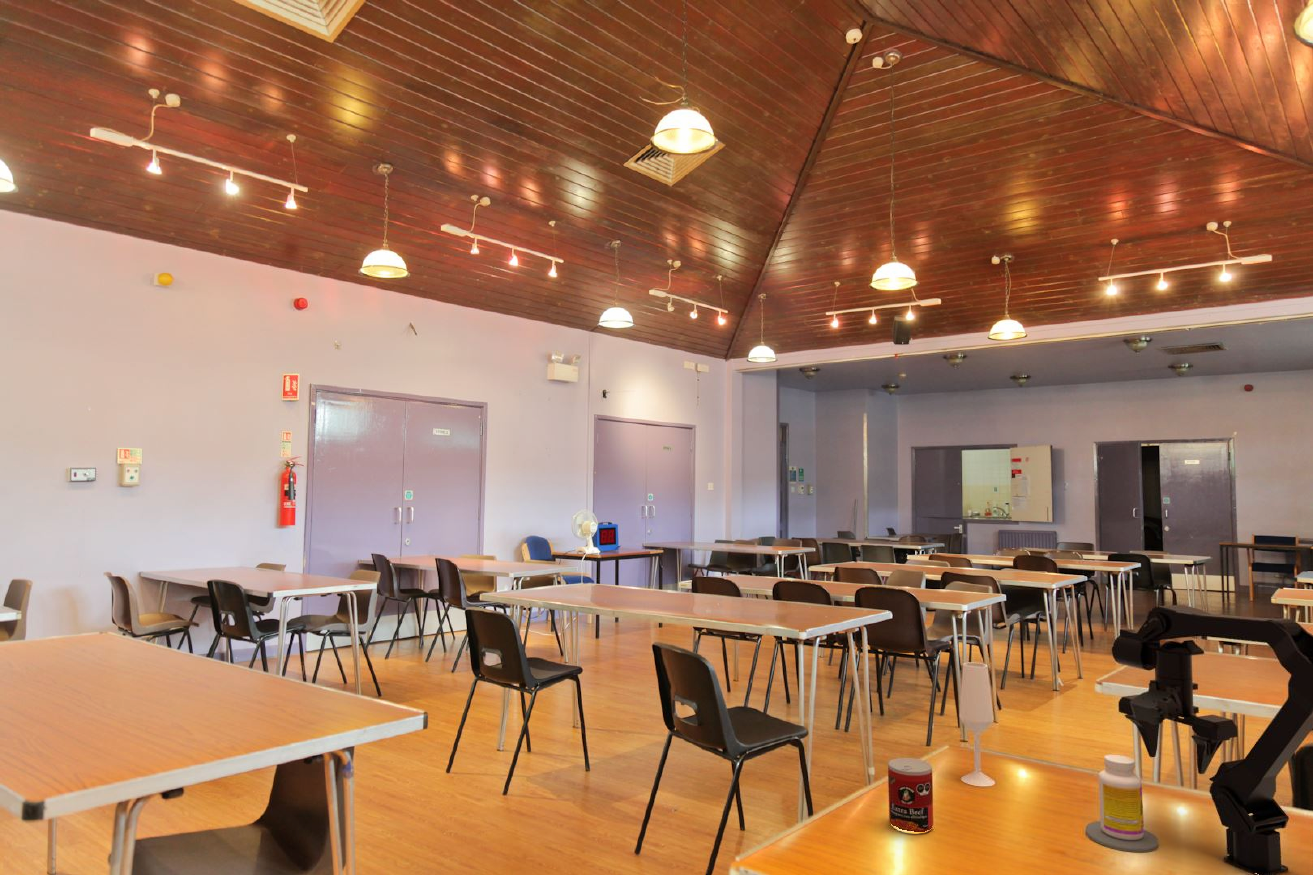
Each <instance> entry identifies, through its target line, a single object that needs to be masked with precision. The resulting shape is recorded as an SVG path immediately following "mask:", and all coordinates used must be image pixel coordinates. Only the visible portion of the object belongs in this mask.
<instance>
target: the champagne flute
mask: <svg viewBox="0 0 1313 875" xmlns="http://www.w3.org/2000/svg"><path fill="white" fill-rule="evenodd" d="M961 677H962V680H961V690H960V691H961V692H960V707H959V719H960V721H961V722H962V724H963V725H964V726H965V727H966V728H967V729H968V731H970V732H971V733H973V745H974V746H973V747H974V749H973V750H974V751H973V753H974V754H973V758H974V771H972V772H970V773H968V774H965V775H963V776H962V777H961V778H960V780H961V781H962V782H964V783H965V784H968V785H970V786H976V787H991V786H994V785H996V782H995V780H994V779H993V778H991V777H989V776H988V775H986V774H985V773H984V772H982V771H981V770H982V769H981V767H982V765H981V764H982V763H981V734H983V733H984V732H986V731H987V730H988V729H989V728H990V727H991V725H993V722H994V719H995V718H994V711H993V703H992V695H991V694H992V693H991V687H990V678H989V669H988V664H987V663H982V662H971V661H970V662H963V664H962V676H961Z"/></svg>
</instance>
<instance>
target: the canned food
mask: <svg viewBox="0 0 1313 875" xmlns="http://www.w3.org/2000/svg"><path fill="white" fill-rule="evenodd" d="M887 770H888V771H887V776H888V777H887V778H888V779H887V780H888V781H887V782H888V786H887V787H888V820H889V824H890V823H891V824H892V825H893V826H896V827H898V828H899V829H902V830H907V831H914V832H925V831H927V830H930V829H931V828H932V829H933V827H932V826H933V825H934V796H933V793H934V792H933V791H934V790H933V766H932V764H931V763H929V762H927V761H925V760H922V759H919V758H913V757H912V758H911V757H898V758H893V759H891V760H889V761H888V767H887ZM891 824H890V825H891ZM932 829H931V830H932Z"/></svg>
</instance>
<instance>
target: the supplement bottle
mask: <svg viewBox="0 0 1313 875" xmlns="http://www.w3.org/2000/svg"><path fill="white" fill-rule="evenodd" d="M1103 760H1104V761H1103V763H1104V766H1105V769H1103V770H1101V771H1100V772H1099V774H1098V791H1099V795H1098V796H1099V798H1098V799H1099V821H1100V825H1101V829H1102V831H1103V832H1104V833H1106V834H1107V835H1109V836H1112V837H1115V838H1118V839H1123V840H1138V839H1141V838H1142V837H1143V835H1144V828H1145V827H1144V810H1143V808H1144V807H1143V784H1142V779H1141V778H1140V777H1139V776H1138V775H1137V774H1136V773H1134V770H1135V769H1136V764H1135V760H1134V759H1133V758H1131V757H1128V756H1125V755H1119V754H1106V755H1104V759H1103Z"/></svg>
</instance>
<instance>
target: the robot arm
mask: <svg viewBox="0 0 1313 875" xmlns="http://www.w3.org/2000/svg"><path fill="white" fill-rule="evenodd" d="M1193 637H1195V638H1196V637H1204V638H1205V637H1207V638H1215V639H1216V638H1217V639H1227V640H1234V641H1245V642H1255V643H1264V644H1267V645H1268V646H1269V647H1270V648H1271V649H1272V651H1273V653H1274V654H1275V656H1276V658H1277V660H1278V662H1279V664H1280V666H1281V667H1283V668H1284V670H1286V672H1288V674H1289V675H1290V677H1289V679H1288V682H1287V698H1286V701H1285V702H1284V703H1283V704H1282V706H1281V707H1280V708H1279V710H1278V712H1277V713H1276V714H1275V716H1274V717H1273V718H1272V720H1271V721H1270V722H1269V724H1268V726H1267V727H1265V730H1264V731H1263V732H1262V734H1261V735H1260V737H1258V739H1257V741H1256V742H1255V743H1254V745H1253V746H1252V748H1251V749H1250V751H1249V752H1248V753H1247V754H1246V755H1245V757H1244V758H1240V759H1236V760H1230V761H1225V762H1224V761H1223V762H1222V763H1220V765H1219V766H1218V768H1217V771H1216V772H1215V774H1214V775H1213V776H1211V777H1209V778H1208V779H1209V781H1210V782H1212V783H1211V784H1210V786H1209V794H1210V795H1211V799H1212V801H1213V803H1214V806H1215V810H1216V812H1217V814H1218V818H1219V820H1220V822H1221V825H1222V826H1223V827H1226V829H1225V835H1226V836H1225V837H1226V854H1227V855H1225V856H1222V861H1224V862H1226V863H1228V864H1231V865H1233V866H1235V867H1238V868H1240V869H1243V870H1245V871H1247V870H1248V872H1249V871H1250V873H1251V874H1254V873H1257V874H1259V875H1270V874H1271V875H1272V874H1273V875H1277V874H1281V873H1284V872H1288V871H1289V867H1288V866H1287V865H1285V864H1282V850H1281V849H1282V848H1281V832H1280V831H1277V830H1280V829H1285V828H1286V827H1287V824H1288V822H1289V819H1290V818H1289V816H1288V814H1287V813H1286V812H1285V810H1284V809H1283V808H1282V807H1281V806H1280V805H1279V804H1278V802H1277V801H1276V800H1275V798H1274V797H1275V794H1276V792H1277V777H1278V775H1279V774H1280V772H1281V771H1282V770H1283V768H1284V767H1285V766H1286V764H1287V763H1288V761H1290V759H1291V758H1292V756H1293V755H1295V752H1296V751H1297V750H1298V748H1299V747H1300V746H1301V744H1302V743H1303V741H1305V739H1306V738H1307V737H1308V735H1309V734H1310V733H1311V731H1312V730H1313V634H1312V633H1310V632H1308V631H1307V630H1306V629H1305V628H1304V627H1303V626H1302V625H1301V624H1299V623H1298V622H1297V621H1295V620H1293V619H1290V618H1265V617H1253V616H1242V615H1241V616H1239V615H1228V614H1227V615H1226V614H1217V613H1216V614H1215V613H1210V612H1206V611H1204V610H1202V609H1199V608H1196V607H1192V606H1188V605H1184V604H1175V605H1173V604H1172V605H1161V606H1160V605H1159V606H1153V607H1151V609H1150V610H1149V612H1148V614H1147V617H1146V620H1145V621H1144V622H1143V624H1142V625H1141V626H1140V628H1139V629H1138V630H1135V629H1131V628H1122V629H1121V628H1120V629H1119V635H1118V636H1117V637H1116V638H1115V640H1114V642H1113V644H1112V646H1111V654H1112V657H1113V659H1114V661H1115V662H1116V664H1117V663H1118V665H1119V664H1120V665H1122V666H1123V665H1124V666H1128V667H1132V668H1134V669H1140V670H1145V671H1152V670H1154V679H1150V680H1149V683H1148V690H1147V691H1144V692H1142V693H1141V694H1133V695H1132V694H1131V695H1125V696H1121V697H1120V699H1119V700H1118V702H1117V703H1118V705H1117V707H1118V713H1121V714H1124V717H1125V719H1128V720H1129V721H1131V722H1132V724H1134V725H1135V726H1136V728H1137V730H1138V732H1139V735H1140V737H1141V738H1142V741H1143V743H1144V746H1145V749H1146V752H1147V754H1148V757H1150V758H1155V757H1156V755H1157V751H1158V744H1159V731H1160V724H1162V723H1163V721H1165V720H1169V721H1173V722H1177V723H1180V724H1182V725H1186V726H1189V727H1191V729H1192V731H1193V732H1194V735H1190V736H1191V738H1192V740H1193V741H1194V743H1195V745H1196V765H1197V772H1198V774H1200V775H1204V774H1205V773H1206V771H1207V770H1208V768H1209V766H1210V764H1211V762H1212V760H1213V758H1214V757H1215V754H1216V753H1217V751H1218V750H1219V748H1220V747H1221V746H1222V744H1223V743H1224V742H1226V741H1230V740H1231V739H1233V738H1238V737H1239V736H1238V735H1239V734H1238V732H1239V730H1238V725H1237V724H1236V722H1235V721H1234V720H1233V719H1230V718H1228V717H1227V718H1226V717H1225V716H1224V717H1223V716H1220V715H1216V714H1207V715H1201V716H1197V715H1195V714H1199V713H1200V712H1199V711H1200V710H1199V707H1198V706H1195V705H1194V691H1196V690H1199V683H1196V682H1193V656H1200V655H1205V651H1204V649H1203V648H1201V647H1200V646H1199V645H1198V644H1197V643H1196V642H1195V640H1193V639H1187V640H1184V641H1182V642H1179V641H1174V640H1176V639H1183V638H1193ZM1166 640H1167V641H1166ZM1161 641H1165V642H1164V643H1161Z"/></svg>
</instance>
